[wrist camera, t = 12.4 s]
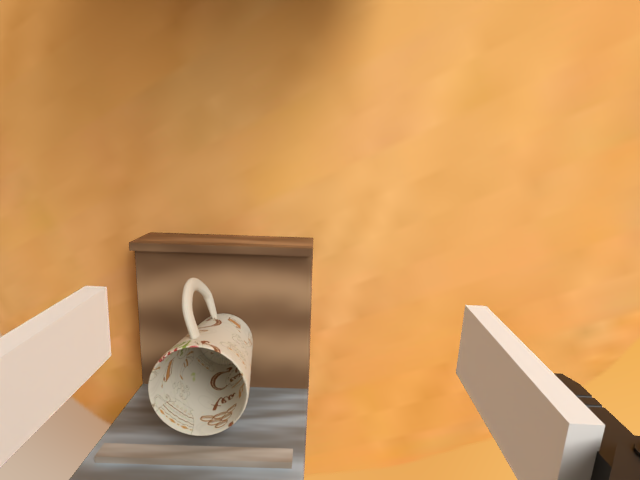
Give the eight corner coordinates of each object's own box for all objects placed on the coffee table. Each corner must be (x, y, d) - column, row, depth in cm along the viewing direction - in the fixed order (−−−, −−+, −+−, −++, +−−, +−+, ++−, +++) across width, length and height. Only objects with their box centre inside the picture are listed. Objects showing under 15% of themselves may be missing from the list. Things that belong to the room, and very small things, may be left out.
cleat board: (150, 232, 46) (24, 291, 27) (313, 238, 46) (307, 301, 27) (157, 376, 50) (51, 522, 30) (308, 381, 50) (301, 529, 30)
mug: (199, 382, 46) (166, 445, 36) (161, 275, 43) (115, 311, 33) (273, 365, 45) (259, 424, 35) (239, 255, 43) (215, 286, 33)
